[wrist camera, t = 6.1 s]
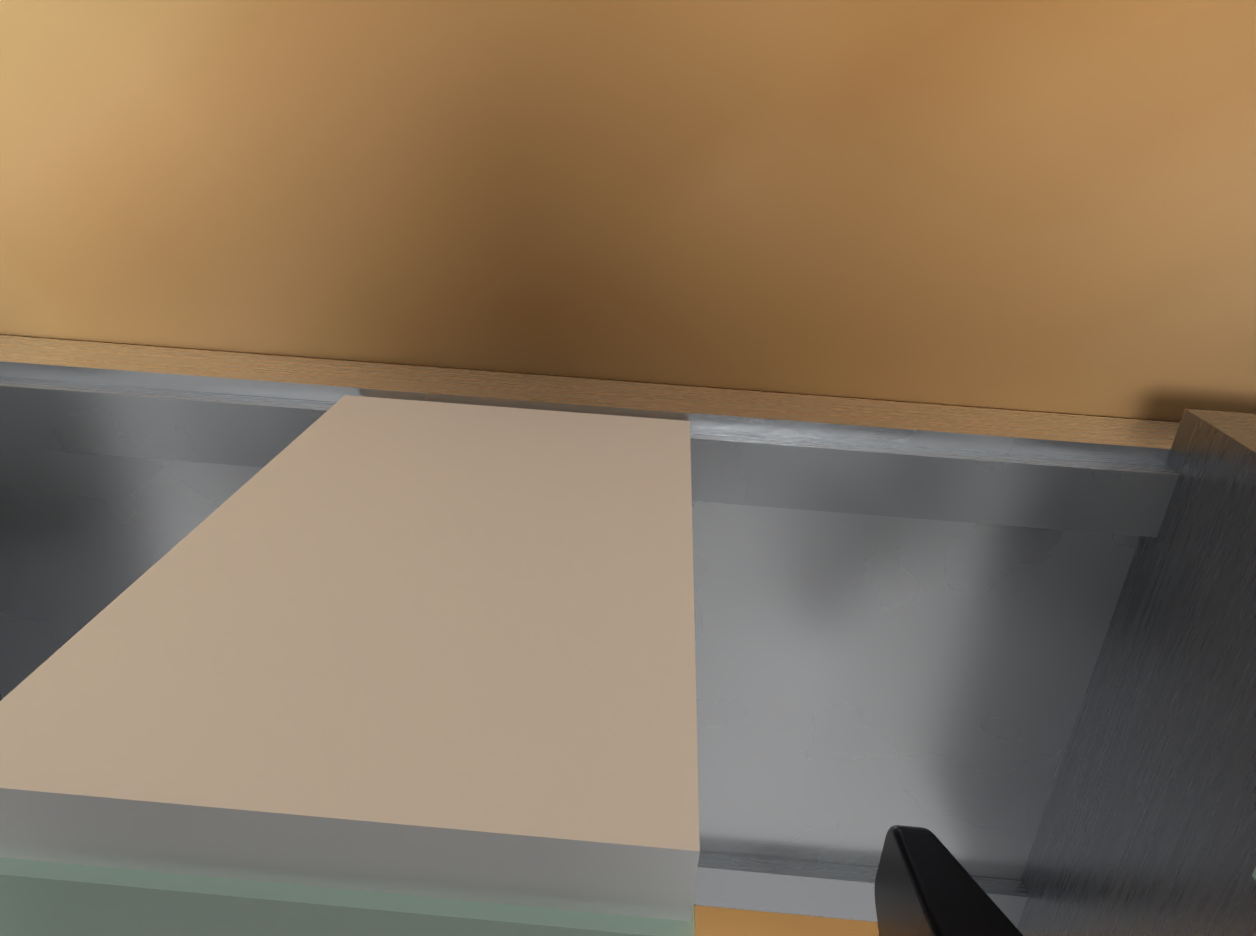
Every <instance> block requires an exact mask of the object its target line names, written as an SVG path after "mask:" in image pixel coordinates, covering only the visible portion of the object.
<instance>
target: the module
mask: <svg viewBox="0 0 1256 936" xmlns="http://www.w3.org/2000/svg"><path fill="white" fill-rule="evenodd" d="M699 853H700V840H699V796H698V753H697V709H696V666H695V622H694V579H693V535H692V491H691V448H690V421H684V420H670V419H657V418H643V417H630V416H617V415H603V414H590V413H577V412H563V411H550V410H537V409H523V408H510V407H497V406H483V405H470V404H457V403H443V402H430V401H417V400H403V399H390V398H377V397H363V396H350V395H345V396H343V397H342V398H341V399H340V400H339V401H338V402H337V403H336V404H334V405H333V406H332V407H331V408H330V409H329V410H328V411H327V412H325V413H324V414H323V415H322V416H321V417H320V418H319V419H318V420H316V421H315V422H314V423H313V424H312V425H311V426H310V427H309V428H307V429H306V430H305V431H304V432H303V433H302V434H301V435H299V436H298V437H297V438H296V439H295V440H294V441H293V442H292V443H290V444H289V445H288V446H287V447H286V448H285V449H284V450H283V451H281V452H280V453H279V454H278V455H277V456H276V457H275V458H274V459H272V460H271V461H270V462H269V463H268V464H267V465H266V466H265V467H263V468H262V469H261V470H260V471H259V472H258V473H257V474H256V475H254V476H253V477H252V478H251V479H250V480H249V481H248V482H247V483H245V484H244V485H243V486H242V487H241V488H240V489H239V490H238V491H236V492H235V493H234V494H233V495H232V496H231V497H230V498H229V499H227V500H226V501H225V502H224V503H223V504H222V505H221V506H220V507H218V508H217V509H216V510H215V511H214V512H213V513H212V514H210V515H209V516H208V517H207V518H206V519H205V520H204V521H203V522H201V523H200V524H199V525H198V526H197V527H196V528H195V529H194V530H192V531H191V532H190V533H189V534H188V535H187V536H186V537H185V538H183V539H182V540H181V541H180V542H179V543H178V544H177V545H176V546H174V547H173V548H172V549H171V550H170V551H169V552H168V553H167V554H165V555H164V556H163V557H162V558H161V559H160V560H159V561H158V562H156V563H155V564H154V565H153V566H152V567H151V568H150V569H149V570H147V571H146V572H145V573H144V574H143V575H142V576H141V577H140V578H138V579H137V580H136V581H135V582H134V583H133V584H132V585H131V586H129V587H128V588H127V589H126V590H125V591H124V592H123V593H122V594H120V595H119V596H118V597H117V598H116V599H115V600H114V601H112V602H111V603H110V604H109V605H108V606H107V607H106V608H105V609H103V610H102V611H101V612H100V613H99V614H98V615H97V616H96V617H94V618H93V619H92V620H91V621H90V622H89V623H88V624H87V625H85V626H84V627H83V628H82V629H81V630H80V631H79V632H78V633H76V634H75V635H74V636H73V637H72V638H71V639H70V640H69V641H67V642H66V643H65V644H64V645H63V646H62V647H61V648H60V649H58V650H57V651H56V652H55V653H54V654H53V655H52V656H51V657H49V658H48V659H47V660H46V661H45V662H44V663H43V664H42V665H40V666H39V667H38V668H37V669H36V670H35V671H34V672H33V673H31V674H30V675H29V676H28V677H27V678H26V679H25V680H23V681H22V682H21V683H20V684H19V685H18V686H17V687H16V688H14V689H13V690H12V691H11V692H10V693H9V694H8V695H7V696H5V697H4V698H3V699H2V700H1V701H0V936H695V909H694V893H695V885H696V877H697V869H698V861H699Z"/></svg>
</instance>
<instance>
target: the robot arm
mask: <svg viewBox="0 0 1256 936" xmlns="http://www.w3.org/2000/svg"><path fill="white" fill-rule="evenodd" d="M874 894H875V906H876V914H877V921H878V929H879V936H1023V935H1022V933H1021V932H1020V931H1019V930H1018V929H1017V928H1016V927H1015V926H1014V924H1013V923H1012V922H1011V921H1010V920H1009V919H1008V918H1007V916H1006V915H1005V914H1004V913H1003V912H1002V911H1001V910H1000V908H999V907H998V906H997V905H996V904H995V903H994V902H993V900H992V899H991V898H990V897H989V896H988V895H987V894H986V893H985V891H984V890H983V889H982V888H981V887H980V886H979V885H978V883H977V882H976V881H975V880H974V879H973V878H972V877H971V875H970V874H969V873H968V872H967V871H966V870H965V869H964V867H963V866H962V865H961V864H960V863H959V862H958V861H957V860H956V858H955V857H954V856H953V855H952V854H951V853H950V852H949V850H948V849H947V848H946V847H945V846H944V845H943V844H942V842H941V841H940V840H939V839H938V838H937V837H936V836H935V835H934V834H933V833H932V832H931V831H930V830H928V829H926V828H923V827H912V826H901V825H894V826H891V827H890V828H889V830H888V831H887V834H886V837H885V841H884V845H883V849H882V853H881V857H880V861H879V865H878V869H877V873H876V877H875V888H874Z"/></svg>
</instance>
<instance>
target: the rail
mask: <svg viewBox="0 0 1256 936" xmlns="http://www.w3.org/2000/svg"><path fill="white" fill-rule="evenodd" d="M345 395H350V396H363V397H377V398H390V399H403V400H417V401H430V402H443V403H457V404H470V405H483V406H497V407H510V408H523V409H537V410H550V411H563V412H577V413H590V414H603V415H617V416H630V417H643V418H657V419H670V420H684V421H690V448H691V491H692V535H693V579H694V622H695V666H696V709H697V753H698V796H699V840H700V853H699V861H698V869H697V877H696V885H695V893H694V905H700V906H711V907H722V908H732V909H743V910H754V911H765V912H775V913H786V914H797V915H808V916H818V917H829V918H840V919H851V920H861V921H872V922H878V921H877V914H876V906H875V894H874V888H875V877H876V873H877V869H878V865H879V861H880V857H881V853H882V849H883V845H884V841H885V837H886V834H887V831H888V830H889V828H890V827H891V826H894V825H901V826H912V827H923V828H926V829H928V830H930V831H931V832H932V833H933V834H934V835H935V836H936V837H937V838H938V839H939V840H940V841H941V842H942V844H943V845H944V846H945V847H946V848H947V849H948V850H949V852H950V853H951V854H952V855H953V856H954V857H955V858H956V860H957V861H958V862H959V863H960V864H961V865H962V866H963V867H964V869H965V870H966V871H967V872H968V873H969V874H970V875H971V877H972V878H973V879H974V880H975V881H976V882H977V883H978V885H979V886H980V887H981V888H982V889H983V890H984V891H985V893H986V894H987V895H988V896H989V897H990V898H991V899H992V900H993V902H994V903H995V904H996V905H997V906H998V907H999V908H1000V910H1001V911H1002V912H1003V913H1004V914H1005V915H1006V916H1007V918H1008V919H1009V920H1010V921H1011V922H1012V923H1013V924H1014V926H1015V927H1016V928H1017V929H1018V930H1019V931H1020V932H1021V933H1022V935H1023V936H1256V414H1253V413H1240V412H1226V411H1213V410H1199V409H1184V412H1183V415H1182V418H1181V421H1180V423H1179V422H1166V421H1152V420H1139V419H1125V418H1112V417H1098V416H1085V415H1071V414H1058V413H1044V412H1031V411H1017V410H1004V409H990V408H977V407H964V406H950V405H937V404H923V403H910V402H896V401H883V400H869V399H856V398H842V397H829V396H815V395H802V394H788V393H775V392H761V391H748V390H734V389H721V388H708V387H694V386H681V385H667V384H654V383H640V382H627V381H613V380H600V379H586V378H573V377H559V376H546V375H532V374H519V373H505V372H492V371H479V370H465V369H452V368H438V367H425V366H411V365H398V364H384V363H371V362H357V361H344V360H330V359H317V358H303V357H290V356H276V355H263V354H249V353H236V352H223V351H209V350H196V349H182V348H169V347H155V346H142V345H128V344H115V343H101V342H88V341H74V340H61V339H47V338H34V337H20V336H7V335H0V701H1V700H2V699H3V698H4V697H5V696H7V695H8V694H9V693H10V692H11V691H12V690H13V689H14V688H16V687H17V686H18V685H19V684H20V683H21V682H22V681H23V680H25V679H26V678H27V677H28V676H29V675H30V674H31V673H33V672H34V671H35V670H36V669H37V668H38V667H39V666H40V665H42V664H43V663H44V662H45V661H46V660H47V659H48V658H49V657H51V656H52V655H53V654H54V653H55V652H56V651H57V650H58V649H60V648H61V647H62V646H63V645H64V644H65V643H66V642H67V641H69V640H70V639H71V638H72V637H73V636H74V635H75V634H76V633H78V632H79V631H80V630H81V629H82V628H83V627H84V626H85V625H87V624H88V623H89V622H90V621H91V620H92V619H93V618H94V617H96V616H97V615H98V614H99V613H100V612H101V611H102V610H103V609H105V608H106V607H107V606H108V605H109V604H110V603H111V602H112V601H114V600H115V599H116V598H117V597H118V596H119V595H120V594H122V593H123V592H124V591H125V590H126V589H127V588H128V587H129V586H131V585H132V584H133V583H134V582H135V581H136V580H137V579H138V578H140V577H141V576H142V575H143V574H144V573H145V572H146V571H147V570H149V569H150V568H151V567H152V566H153V565H154V564H155V563H156V562H158V561H159V560H160V559H161V558H162V557H163V556H164V555H165V554H167V553H168V552H169V551H170V550H171V549H172V548H173V547H174V546H176V545H177V544H178V543H179V542H180V541H181V540H182V539H183V538H185V537H186V536H187V535H188V534H189V533H190V532H191V531H192V530H194V529H195V528H196V527H197V526H198V525H199V524H200V523H201V522H203V521H204V520H205V519H206V518H207V517H208V516H209V515H210V514H212V513H213V512H214V511H215V510H216V509H217V508H218V507H220V506H221V505H222V504H223V503H224V502H225V501H226V500H227V499H229V498H230V497H231V496H232V495H233V494H234V493H235V492H236V491H238V490H239V489H240V488H241V487H242V486H243V485H244V484H245V483H247V482H248V481H249V480H250V479H251V478H252V477H253V476H254V475H256V474H257V473H258V472H259V471H260V470H261V469H262V468H263V467H265V466H266V465H267V464H268V463H269V462H270V461H271V460H272V459H274V458H275V457H276V456H277V455H278V454H279V453H280V452H281V451H283V450H284V449H285V448H286V447H287V446H288V445H289V444H290V443H292V442H293V441H294V440H295V439H296V438H297V437H298V436H299V435H301V434H302V433H303V432H304V431H305V430H306V429H307V428H309V427H310V426H311V425H312V424H313V423H314V422H315V421H316V420H318V419H319V418H320V417H321V416H322V415H323V414H324V413H325V412H327V411H328V410H329V409H330V408H331V407H332V406H333V405H334V404H336V403H337V402H338V401H339V400H340V399H341V398H342V397H343V396H345Z"/></svg>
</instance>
